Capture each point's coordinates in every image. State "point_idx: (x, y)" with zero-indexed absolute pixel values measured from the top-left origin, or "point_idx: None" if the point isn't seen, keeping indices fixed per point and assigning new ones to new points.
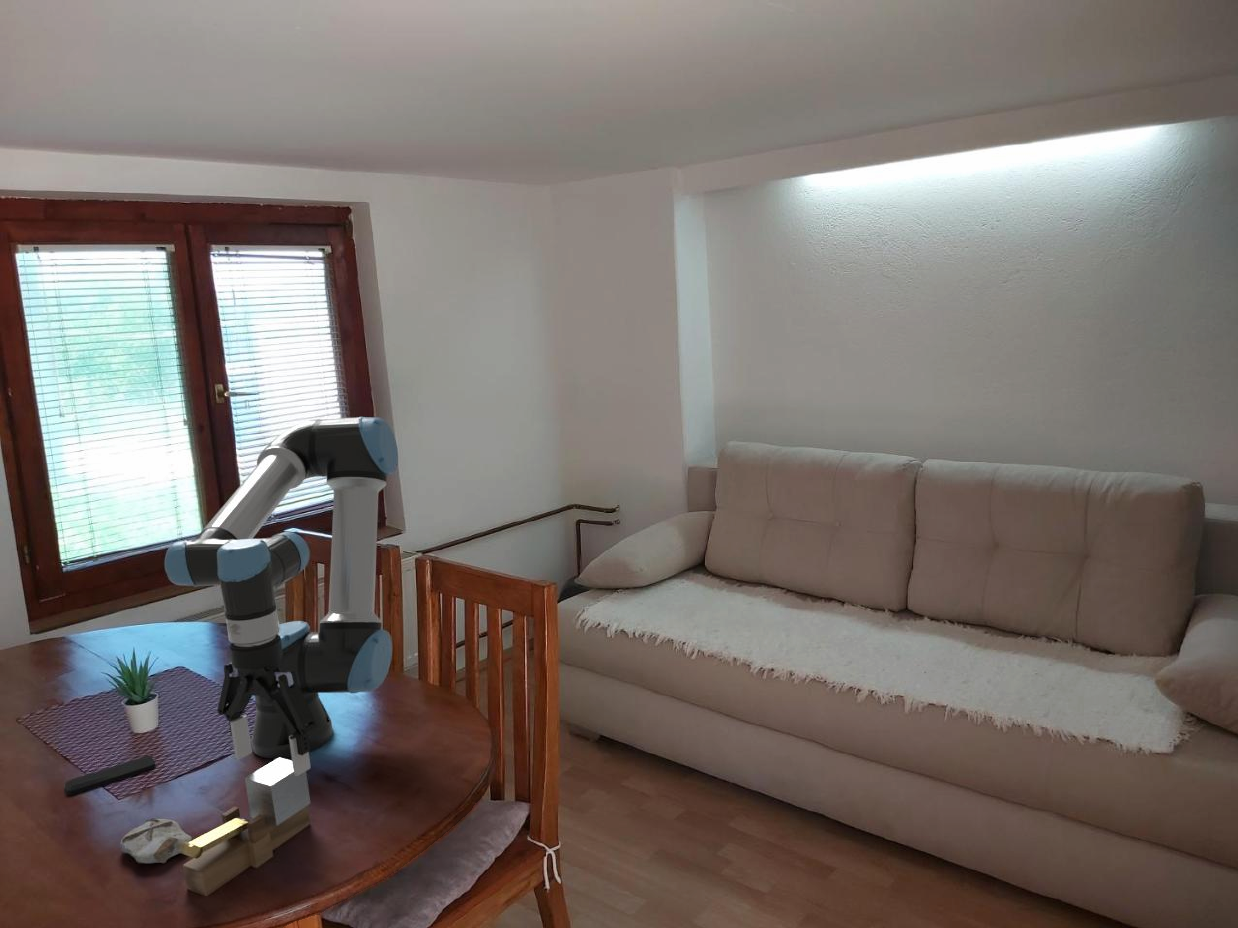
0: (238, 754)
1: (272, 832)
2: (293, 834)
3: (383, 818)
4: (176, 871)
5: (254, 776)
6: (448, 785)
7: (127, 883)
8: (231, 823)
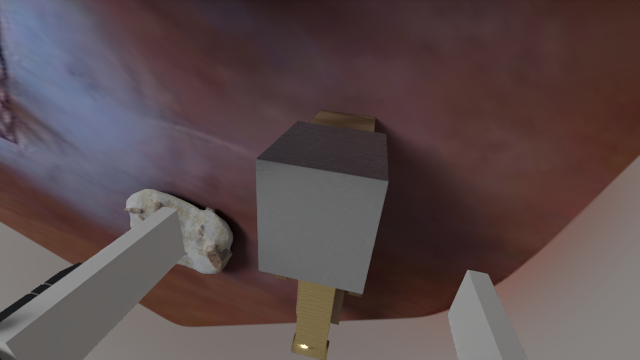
0: (173, 264)
1: None
2: None
3: (560, 42)
4: None
5: (277, 261)
6: None
7: (227, 282)
8: (310, 284)
